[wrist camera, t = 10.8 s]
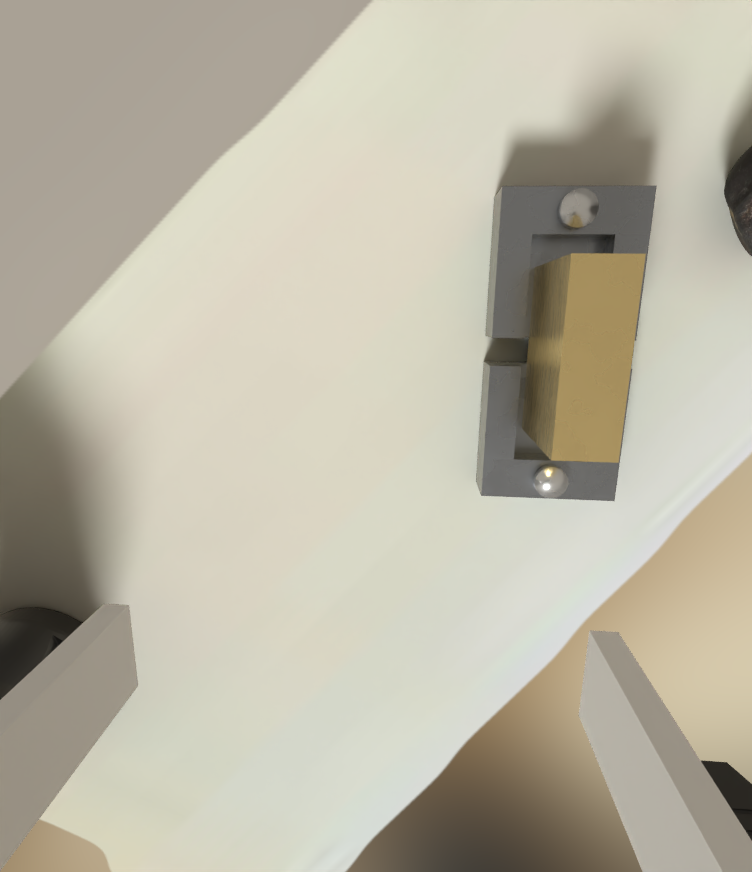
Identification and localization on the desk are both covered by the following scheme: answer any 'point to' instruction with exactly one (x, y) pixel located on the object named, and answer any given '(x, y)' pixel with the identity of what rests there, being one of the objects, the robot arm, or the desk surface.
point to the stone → (741, 198)
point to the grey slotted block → (510, 318)
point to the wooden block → (581, 354)
